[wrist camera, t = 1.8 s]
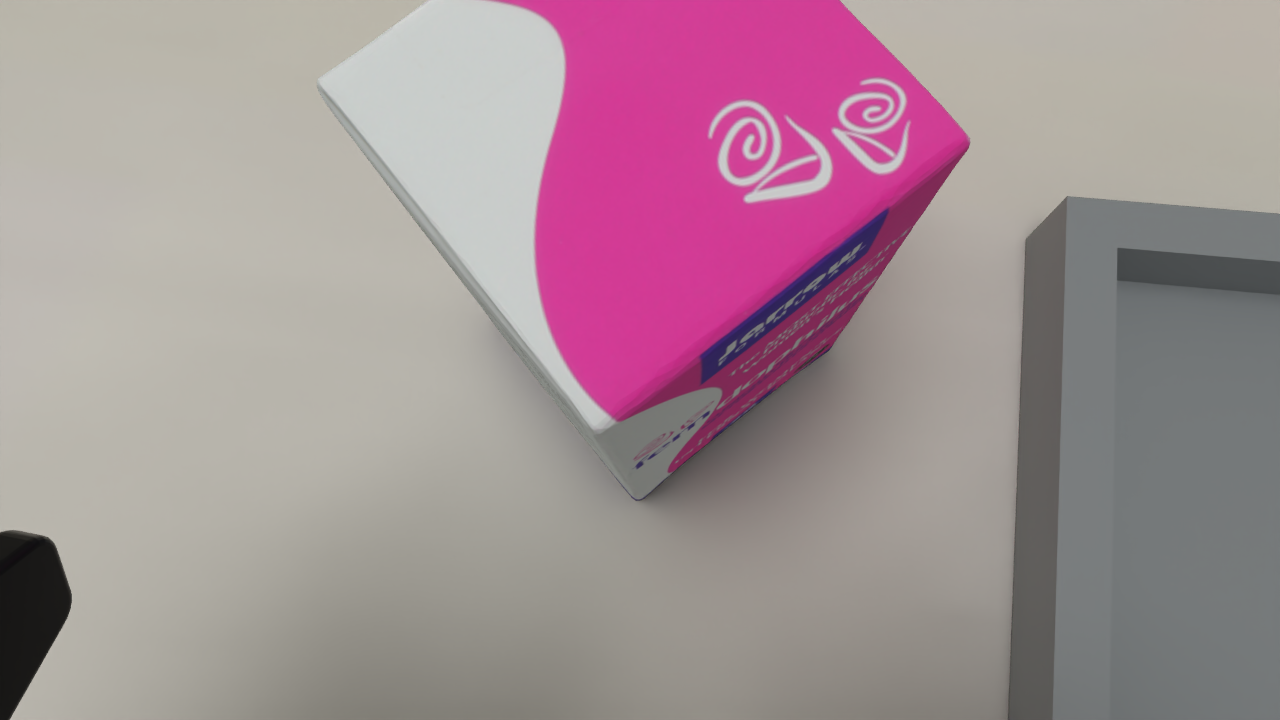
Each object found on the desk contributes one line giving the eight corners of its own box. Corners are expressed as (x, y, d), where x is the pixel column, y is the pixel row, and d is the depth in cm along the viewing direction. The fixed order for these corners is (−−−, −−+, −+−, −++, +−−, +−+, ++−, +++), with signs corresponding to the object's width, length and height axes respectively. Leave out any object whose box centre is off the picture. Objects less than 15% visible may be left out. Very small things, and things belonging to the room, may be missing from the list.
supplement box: (643, 514, 22) (579, 449, 11) (486, 312, 23) (282, 63, 12) (845, 353, 22) (989, 129, 11) (682, 164, 23) (663, -211, 12)
